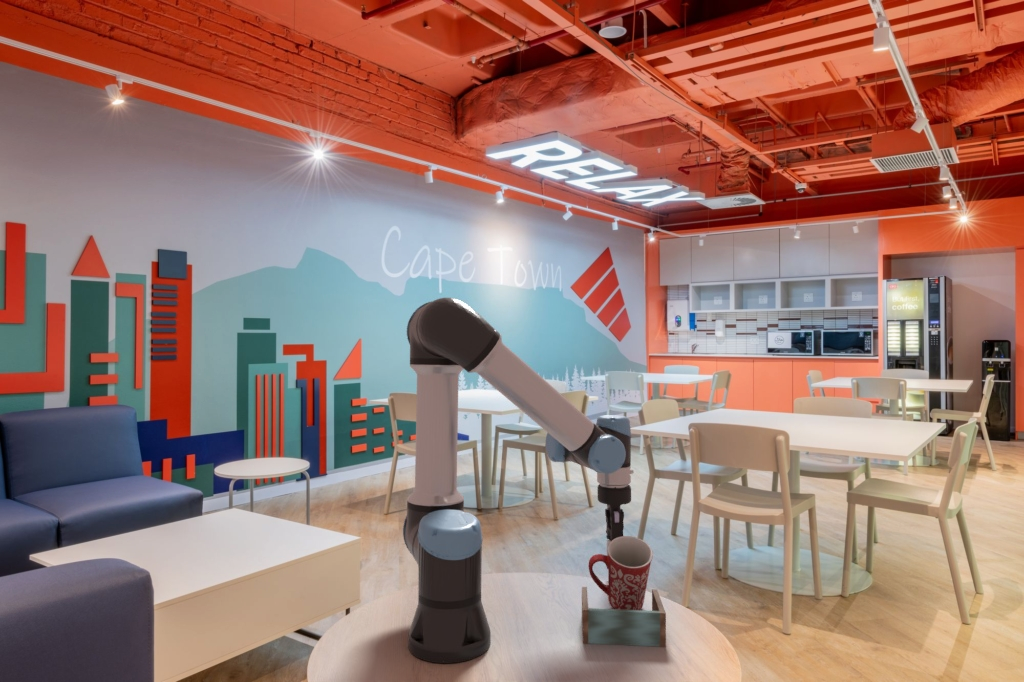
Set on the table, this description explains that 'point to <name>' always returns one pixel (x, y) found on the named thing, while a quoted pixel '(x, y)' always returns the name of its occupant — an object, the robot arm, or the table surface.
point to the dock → (624, 624)
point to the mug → (625, 572)
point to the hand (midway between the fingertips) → (615, 578)
